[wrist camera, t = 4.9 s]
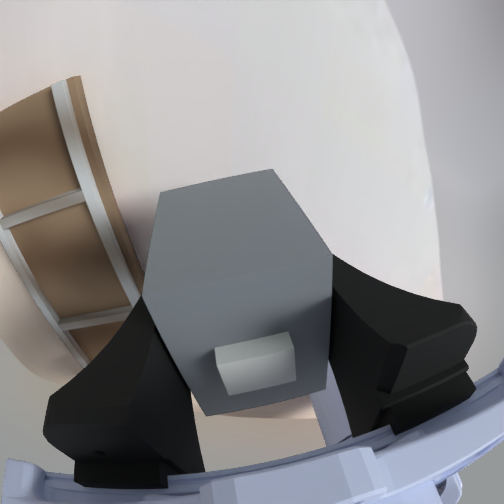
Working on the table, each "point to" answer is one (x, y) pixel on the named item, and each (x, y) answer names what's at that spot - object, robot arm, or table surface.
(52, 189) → the rail board
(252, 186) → the block
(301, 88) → the table surface
